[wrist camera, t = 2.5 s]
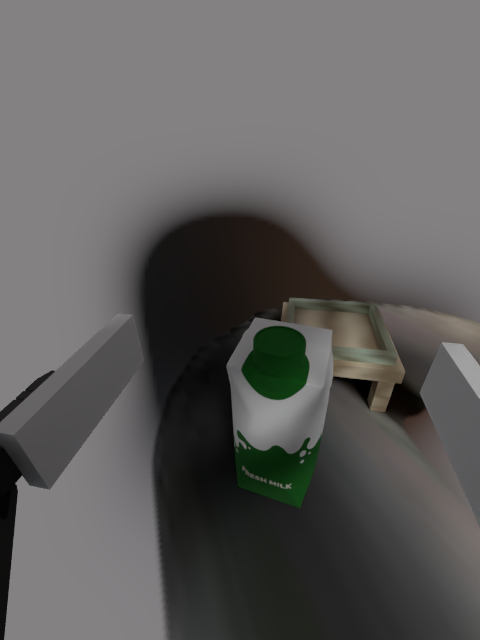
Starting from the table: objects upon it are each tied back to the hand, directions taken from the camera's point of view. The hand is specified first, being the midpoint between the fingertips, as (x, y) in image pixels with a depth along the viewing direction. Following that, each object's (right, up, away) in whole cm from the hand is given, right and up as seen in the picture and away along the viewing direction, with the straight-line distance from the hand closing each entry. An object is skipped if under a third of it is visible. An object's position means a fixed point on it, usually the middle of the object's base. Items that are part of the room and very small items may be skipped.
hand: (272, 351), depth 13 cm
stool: (+13, -7, +35) cm, 38 cm away
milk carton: (+3, -16, +21) cm, 27 cm away
